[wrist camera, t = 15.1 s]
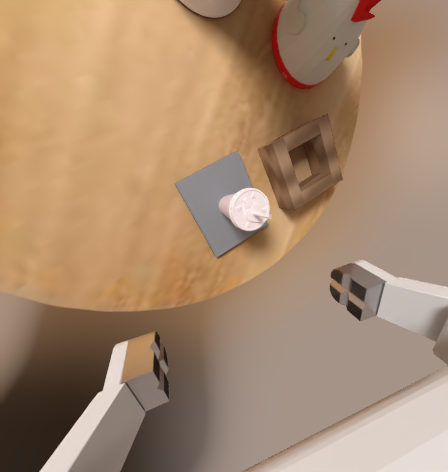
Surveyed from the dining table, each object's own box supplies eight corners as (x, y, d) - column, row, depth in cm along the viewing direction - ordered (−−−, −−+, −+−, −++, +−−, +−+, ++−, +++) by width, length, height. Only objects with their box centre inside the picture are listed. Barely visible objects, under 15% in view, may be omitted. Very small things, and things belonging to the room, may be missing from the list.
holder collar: (257, 149, 38) (272, 143, 34) (307, 122, 41) (327, 113, 36) (279, 207, 43) (295, 209, 38) (323, 180, 45) (342, 179, 41)
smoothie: (224, 228, 38) (262, 248, 26) (204, 202, 36) (235, 210, 23) (248, 207, 39) (296, 216, 26) (230, 181, 37) (273, 176, 24)
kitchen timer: (267, 78, 36) (339, 10, 22) (276, -15, 33) (364, -157, 20) (324, 96, 41) (412, 49, 27) (336, 16, 38) (440, -80, 25)
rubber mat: (174, 183, 34) (175, 183, 33) (235, 151, 37) (237, 150, 36) (215, 256, 40) (216, 257, 39) (265, 224, 43) (268, 224, 42)
